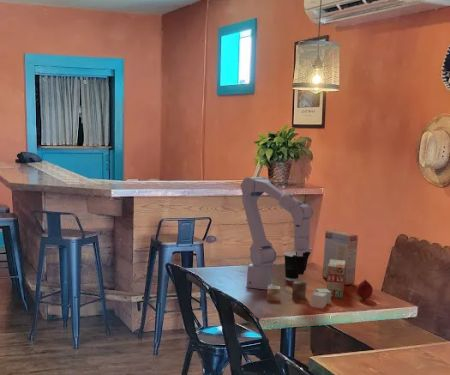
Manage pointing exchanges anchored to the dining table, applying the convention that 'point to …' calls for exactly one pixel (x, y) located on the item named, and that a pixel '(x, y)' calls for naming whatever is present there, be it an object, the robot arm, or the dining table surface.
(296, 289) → the walnut bar
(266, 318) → the dining table surface
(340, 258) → the cracker box
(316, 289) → the sage block
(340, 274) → the stack of blocks
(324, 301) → the white block
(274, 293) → the maple block
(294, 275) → the dixie cup
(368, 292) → the onion
